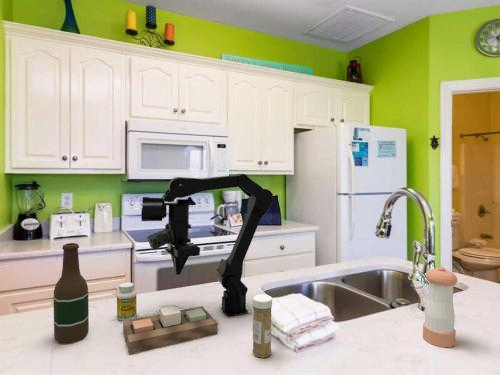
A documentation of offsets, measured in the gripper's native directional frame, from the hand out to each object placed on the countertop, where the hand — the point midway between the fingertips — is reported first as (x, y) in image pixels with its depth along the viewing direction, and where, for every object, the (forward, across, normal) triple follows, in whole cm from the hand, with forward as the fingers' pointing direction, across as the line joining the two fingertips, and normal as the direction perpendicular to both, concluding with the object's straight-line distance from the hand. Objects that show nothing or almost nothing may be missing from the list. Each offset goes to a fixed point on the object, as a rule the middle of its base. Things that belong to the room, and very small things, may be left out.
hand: (177, 274), depth 95 cm
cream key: (+10, +8, -4) cm, 13 cm away
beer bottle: (+14, -3, -27) cm, 30 cm away
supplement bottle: (+13, -8, -12) cm, 20 cm away
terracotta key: (+12, +7, -11) cm, 18 cm away
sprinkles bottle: (+13, +28, +12) cm, 33 cm away
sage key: (+12, +8, +3) cm, 14 cm away
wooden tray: (+13, +8, -4) cm, 16 cm away
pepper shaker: (+12, +45, +55) cm, 72 cm away
